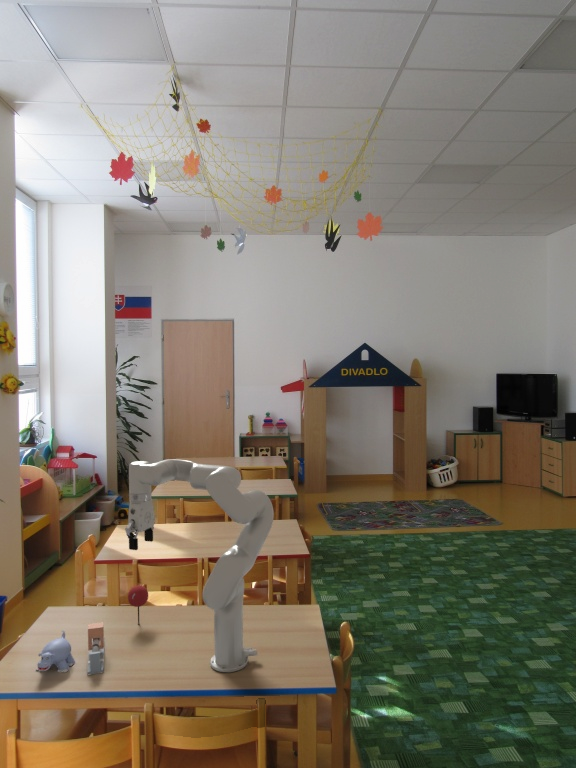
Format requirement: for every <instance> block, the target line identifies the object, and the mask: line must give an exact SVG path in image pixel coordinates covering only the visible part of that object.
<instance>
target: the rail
mask: <svg viewBox="0 0 576 768" xmlns="http://www.w3.org/2000/svg"><path fill="white" fill-rule="evenodd" d="M99 641H100V638H93V639H92V642H93V646H92V650H90V651H88V659H87V660H88V661H87V670H86V671H87V672H86V673H87V676H89V675H88V674H91V675H96V674H95V673H97V674H102V673H101V672H103V673H104V669H103V668H104V664H105V663H104V662H105V648H104V649H99Z"/></svg>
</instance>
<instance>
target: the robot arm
mask: <svg viewBox="0 0 576 768" xmlns="http://www.w3.org/2000/svg"><path fill="white" fill-rule="evenodd" d="M169 481H181V482H188V483H189V485H190V486H191V488H192V489H194V490H199V491H201V490H202V491H206V492H208V494H209V495H210V497H211V498H212V499H213V500H214V501H215V502H216V504H217V506H219V507H220V509H222V511H223V512H224V513H225V514H226V515H227V516H228V517H229V518H230V519H231V520H232V521H233V522H235V523H237V524H240V525H243V527H242V529H241V531H239V534H238V537H237V538H236V540H235V542H234V544H233V545H232V546H231V547H230V548H229V549H227V550H226V551H225V552H224V553H223V554H221V556H220V557H219V558H218V559H217V561H216V563H215V565H214V566H213V569H212V570H211V572H210V575H209V576H208V578H207V581H206V582H205V584H204V587H203V589H202V600H203V602H204V605H205V606H206V607H207V608H208V609H210V610H213V611H214V616H213V617H214V618H213V619H214V621H213V623H214V626H213V627H214V628H213V629H214V632H213V633H214V655H212V656H211V658H210V662H209V664H210V667H211V668H212V669H213V670H214V671H217V672H220V673H233V672H237V671H240V670H243V669H244V668H245V667H246V666H247V665H248V663H249V657H253V656H258V649H257V648H254V649H252V648H253V647H251V646H250V647H245V646H244V633H243V632H244V620H243V619H244V618H243V614H244V613H243V607H244V606H243V605H244V595H245V594H244V593H245V579H244V576H246V575H247V573H249V571H250V570H251V569H252V568H253V567H254V565H255V562H256V559H257V558H258V556H259V554H260V552H261V550H262V548H263V547H264V544H265V542H266V540H267V537H268V536H269V534H270V531H271V529H272V526H273V523H274V515H275V514H274V513H275V512H274V507H273V506H274V505H273V504H272V501H271V499H270V497H269V496H268V494H267V493H265V492H264V491H262V490H259V489H258V490H257V489H253V490H250V491H247V492H245V493H242V492H241V491H240V490H239V489H238V488H239V487H240V485H241V482H242V475H241V472H240V471H239V470H238V468H236V467H234V466H228V465H220V464H219V465H218V464H217V465H215V464H205V463H197V462H193V461H192V460H185V459H170V458H169V459H164V460H159V461H158V462H154V463H150V462H149V461H146V460H136V461H132V462H131V463H129V465H128V485H129V486H128V489H129V490H128V492H129V493H128V497H129V506H128V517H127V518H128V519H127V520H128V521H127V522H128V524H127V525H126V527H125V529H124V530H125V533H126V536H127V539H128V550H131V551H137V550H139V541H138V540H139V538H138V534H139V533H144V541H145V542H151V543H152V542H153V541H154V529H155V526H154V525H155V522H156V521H155V520H156V515H155V508H154V502H153V499H152V486H160V485H162V484H165V483H168V482H169Z"/></svg>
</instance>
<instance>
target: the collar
mask: <svg viewBox="0 0 576 768" xmlns="http://www.w3.org/2000/svg"><path fill="white" fill-rule="evenodd" d="M104 633H105V631H104V621H102V622H94V623H88V624H87V645H88V646H87V647H88V648H87V649H88V652H89V651H90V650H92V646H93V642H92V639H93V638H100V641H99V649H104V650H105V637H104V635H105V634H104Z"/></svg>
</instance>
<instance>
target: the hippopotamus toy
mask: <svg viewBox="0 0 576 768" xmlns="http://www.w3.org/2000/svg"><path fill="white" fill-rule="evenodd" d="M38 657H41V658H40V660H39V661H38V662H37V663H36V666H37V668H36V670H39V671H38V672H46V671H48V670H49V669H50V668H51V666H53V665H56V667H57V668H58V669H57V672H58V673H61V672H62V673H67V672H68V671H69V670H70V667H72V666H73V665H75V664H76V660H75V658H74V657H73V654H72V645H71V643H70V641H69V640H67V639H66V633H65V631H64V630H62V634H61V637H59V638H54V639H53V640H50V641H49V642H47V644H45V646H43V649H42V650H41V652H39V653H38Z"/></svg>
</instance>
